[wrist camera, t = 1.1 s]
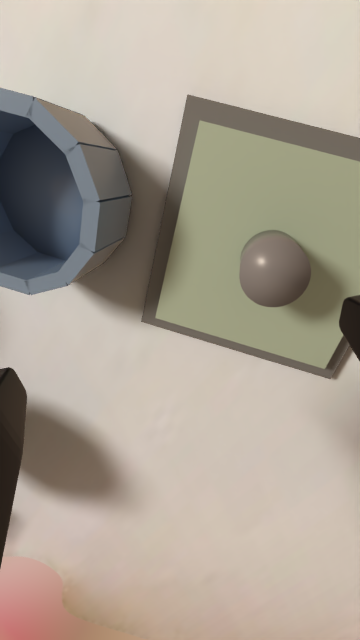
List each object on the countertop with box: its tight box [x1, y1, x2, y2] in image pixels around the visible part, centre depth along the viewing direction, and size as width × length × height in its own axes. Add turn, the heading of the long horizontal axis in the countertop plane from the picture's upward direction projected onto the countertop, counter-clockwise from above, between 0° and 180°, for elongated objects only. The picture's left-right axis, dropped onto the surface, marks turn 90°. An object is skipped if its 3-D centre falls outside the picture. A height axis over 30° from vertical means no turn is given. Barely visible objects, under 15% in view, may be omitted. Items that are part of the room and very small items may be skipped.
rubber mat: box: [141, 95, 360, 379], centre depth 18 cm, size 13×13×1 cm
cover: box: [155, 121, 360, 369], centre depth 16 cm, size 11×11×4 cm
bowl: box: [0, 88, 132, 295], centre depth 17 cm, size 9×9×5 cm
